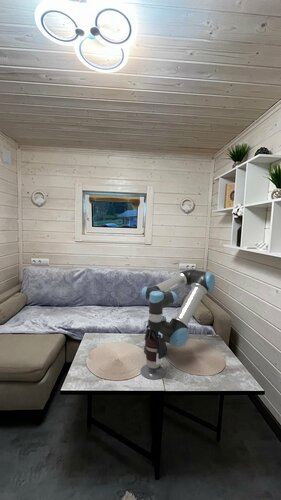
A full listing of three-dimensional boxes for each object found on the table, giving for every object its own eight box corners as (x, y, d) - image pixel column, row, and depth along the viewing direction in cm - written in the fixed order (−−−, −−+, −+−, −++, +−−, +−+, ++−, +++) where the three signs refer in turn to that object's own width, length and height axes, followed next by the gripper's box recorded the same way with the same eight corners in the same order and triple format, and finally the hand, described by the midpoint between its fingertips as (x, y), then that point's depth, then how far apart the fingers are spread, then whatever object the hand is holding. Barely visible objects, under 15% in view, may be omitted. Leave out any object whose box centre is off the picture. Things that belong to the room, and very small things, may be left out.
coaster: (136, 368, 142) (136, 367, 142) (156, 362, 149) (156, 361, 149) (148, 382, 130) (148, 381, 130) (170, 375, 136) (170, 374, 136)
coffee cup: (154, 372, 132) (156, 345, 130) (140, 365, 138) (141, 339, 137) (165, 365, 139) (166, 339, 138) (151, 358, 146) (152, 333, 144)
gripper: (139, 314, 144) (138, 350, 146) (160, 329, 124) (158, 371, 127) (150, 312, 147) (149, 348, 150) (173, 326, 128) (170, 367, 130)
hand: (153, 358), depth 138 cm, fingers closed on coffee cup, 10 cm apart
